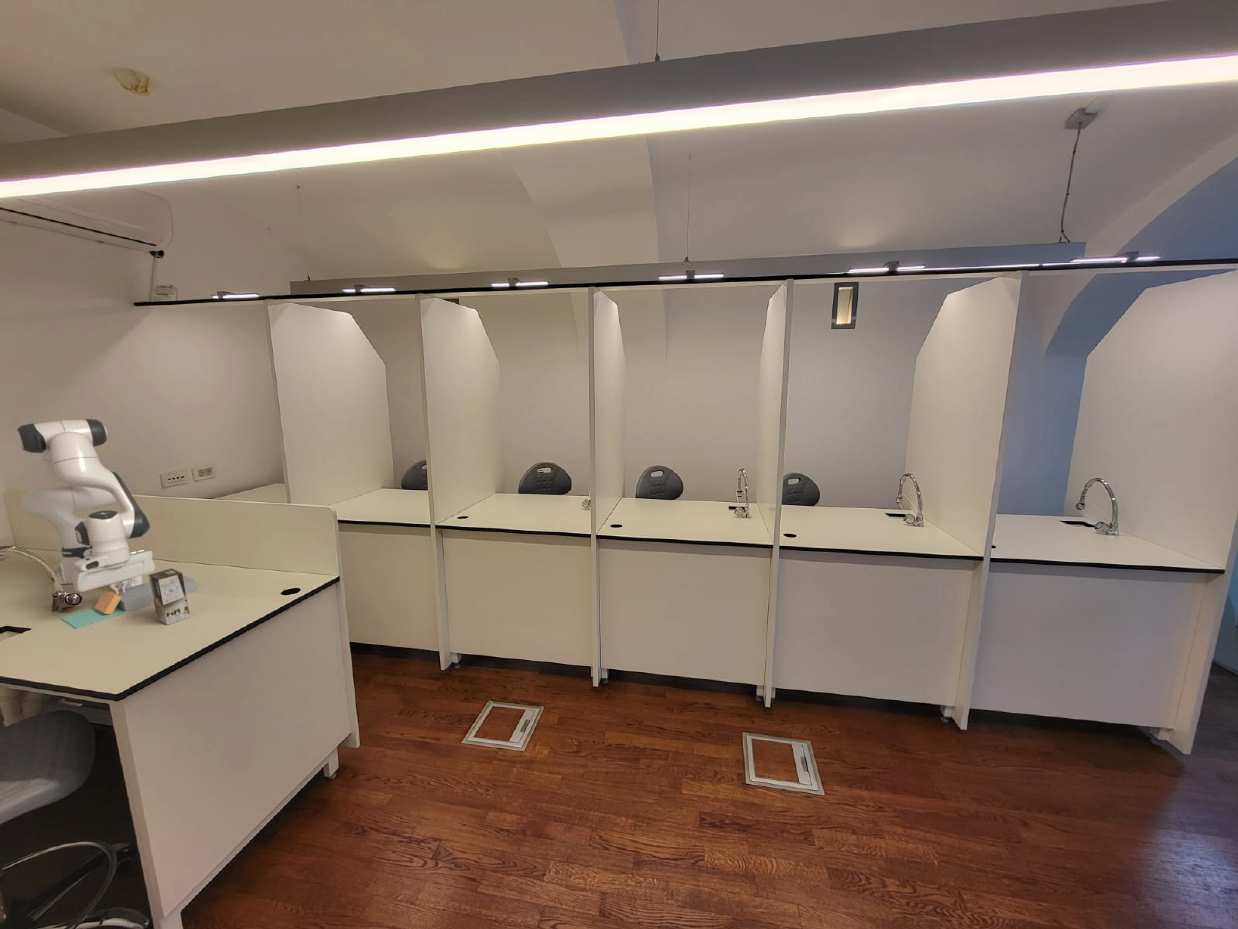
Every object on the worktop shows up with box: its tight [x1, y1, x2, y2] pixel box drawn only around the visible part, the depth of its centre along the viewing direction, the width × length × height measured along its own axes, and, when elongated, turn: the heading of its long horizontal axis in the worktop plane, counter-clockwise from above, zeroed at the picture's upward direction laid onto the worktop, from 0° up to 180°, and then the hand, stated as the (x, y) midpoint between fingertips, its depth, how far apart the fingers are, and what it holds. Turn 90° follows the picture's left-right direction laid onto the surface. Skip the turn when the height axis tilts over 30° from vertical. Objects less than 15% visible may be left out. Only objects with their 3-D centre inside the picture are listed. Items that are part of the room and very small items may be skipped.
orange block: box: [93, 590, 122, 614], centre depth 166 cm, size 9×6×2 cm
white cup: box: [116, 575, 144, 589], centre depth 184 cm, size 8×8×10 cm
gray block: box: [112, 575, 198, 614], centre depth 177 cm, size 14×20×4 cm
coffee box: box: [148, 568, 191, 625], centre depth 160 cm, size 9×6×16 cm
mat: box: [60, 607, 126, 629], centre depth 163 cm, size 14×12×1 cm
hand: (120, 593), depth 169 cm, fingers closed
